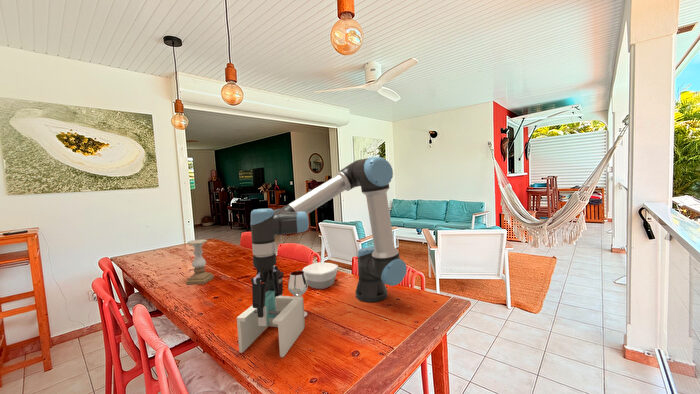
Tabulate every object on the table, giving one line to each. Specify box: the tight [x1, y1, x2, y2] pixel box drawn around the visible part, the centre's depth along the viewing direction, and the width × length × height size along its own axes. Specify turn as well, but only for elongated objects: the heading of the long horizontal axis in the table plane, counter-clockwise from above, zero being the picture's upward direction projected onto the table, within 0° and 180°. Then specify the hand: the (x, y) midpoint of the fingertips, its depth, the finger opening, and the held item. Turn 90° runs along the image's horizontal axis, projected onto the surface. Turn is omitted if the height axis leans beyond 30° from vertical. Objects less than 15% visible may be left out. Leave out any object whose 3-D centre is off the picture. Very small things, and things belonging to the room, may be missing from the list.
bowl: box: [301, 262, 339, 290], centre depth 149 cm, size 18×18×9 cm
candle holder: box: [185, 238, 215, 286], centre depth 163 cm, size 11×11×24 cm
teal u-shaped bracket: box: [264, 291, 276, 325], centre depth 95 cm, size 2×6×9 cm, turn 167°
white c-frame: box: [236, 295, 306, 358], centre depth 99 cm, size 16×18×12 cm
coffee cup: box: [266, 268, 284, 296], centre depth 129 cm, size 10×10×15 cm
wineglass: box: [287, 270, 309, 318], centre depth 116 cm, size 8×8×18 cm
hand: (268, 319), depth 96 cm, fingers closed on teal u-shaped bracket, 6 cm apart
